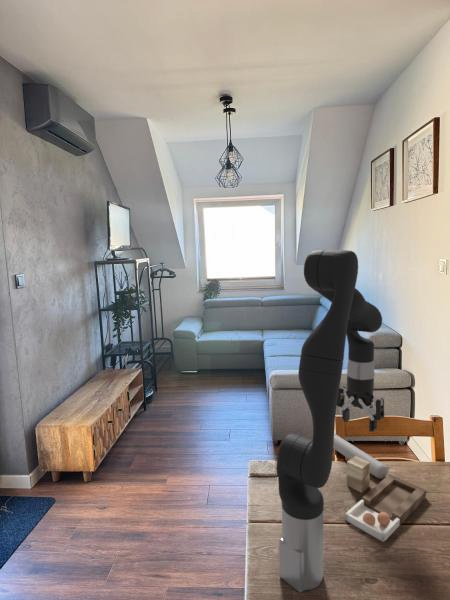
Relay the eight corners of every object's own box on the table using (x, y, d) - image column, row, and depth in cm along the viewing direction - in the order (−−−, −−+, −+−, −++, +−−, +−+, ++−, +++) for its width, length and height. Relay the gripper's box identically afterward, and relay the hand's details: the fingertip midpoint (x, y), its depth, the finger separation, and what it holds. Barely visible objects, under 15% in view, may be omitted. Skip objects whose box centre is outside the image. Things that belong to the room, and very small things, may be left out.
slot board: (399, 525, 106) (400, 516, 106) (362, 505, 115) (362, 497, 114) (425, 498, 117) (426, 490, 116) (389, 481, 125) (389, 474, 125)
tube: (393, 466, 126) (337, 432, 148) (382, 465, 124) (327, 431, 146) (388, 482, 126) (333, 446, 148) (377, 482, 124) (323, 445, 146)
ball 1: (370, 529, 104) (375, 517, 104) (358, 521, 106) (363, 510, 106) (374, 529, 106) (379, 517, 106) (363, 521, 108) (367, 510, 108)
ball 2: (378, 528, 105) (391, 529, 105) (379, 518, 104) (391, 519, 104) (375, 518, 108) (388, 519, 108) (376, 508, 107) (388, 509, 107)
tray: (383, 542, 101) (383, 535, 100) (345, 520, 109) (345, 513, 109) (399, 525, 106) (399, 518, 106) (361, 505, 114) (361, 499, 114)
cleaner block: (361, 492, 120) (362, 468, 119) (346, 485, 124) (347, 461, 123) (369, 486, 123) (370, 462, 122) (354, 479, 127) (355, 456, 125)
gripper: (332, 371, 120) (331, 422, 123) (376, 383, 110) (374, 438, 112) (346, 365, 125) (345, 414, 128) (390, 376, 115) (388, 430, 117)
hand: (359, 425), depth 120 cm, fingers open, 8 cm apart
